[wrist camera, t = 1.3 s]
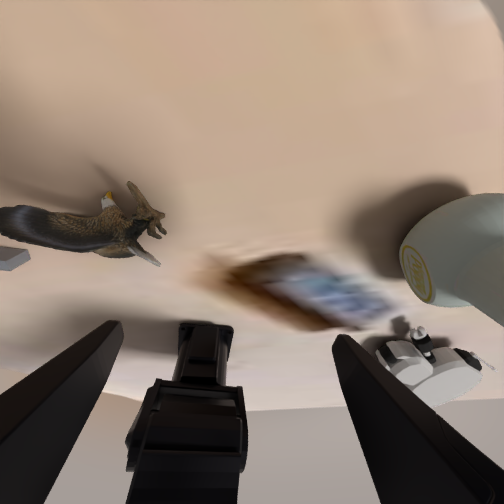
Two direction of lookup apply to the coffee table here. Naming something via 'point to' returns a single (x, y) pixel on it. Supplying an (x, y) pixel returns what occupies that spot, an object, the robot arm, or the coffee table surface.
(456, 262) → the air freshener
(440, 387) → the robot toy
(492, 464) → the robot arm
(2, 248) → the pocket
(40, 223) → the eagle figurine
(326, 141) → the coffee table surface
